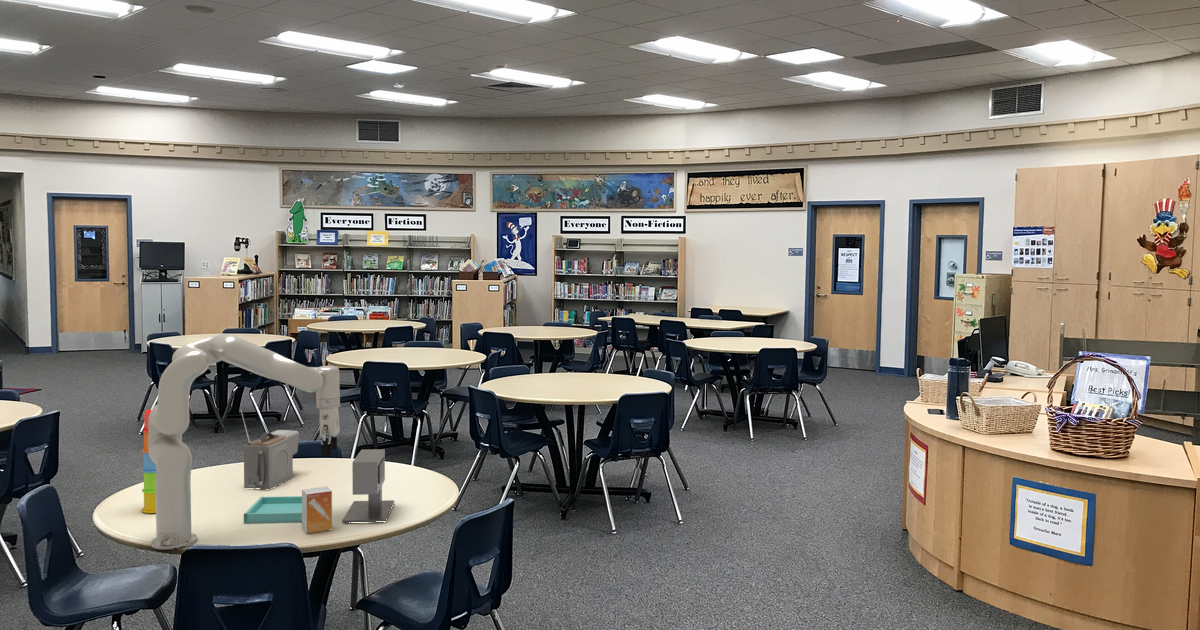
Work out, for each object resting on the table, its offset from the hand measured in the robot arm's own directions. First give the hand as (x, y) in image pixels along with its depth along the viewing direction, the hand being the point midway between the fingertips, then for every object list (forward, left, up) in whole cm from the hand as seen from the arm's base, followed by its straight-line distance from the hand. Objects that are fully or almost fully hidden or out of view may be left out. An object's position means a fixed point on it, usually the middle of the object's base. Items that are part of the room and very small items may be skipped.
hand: (329, 452), depth 282 cm
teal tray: (+2, +15, -22) cm, 26 cm away
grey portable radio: (+43, +31, -22) cm, 57 cm away
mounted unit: (0, -13, -22) cm, 25 cm away
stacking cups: (+9, +59, -22) cm, 63 cm away
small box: (-16, +1, -22) cm, 27 cm away
